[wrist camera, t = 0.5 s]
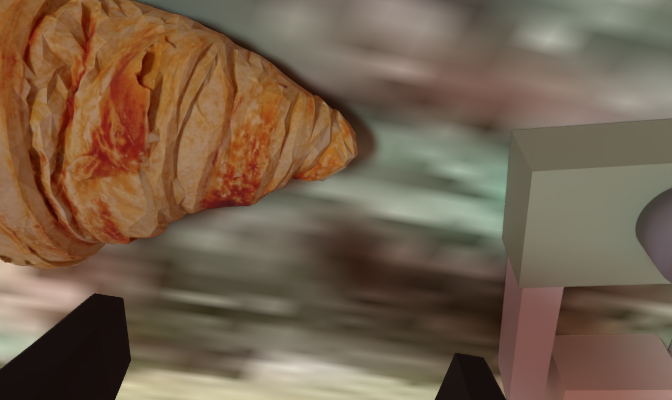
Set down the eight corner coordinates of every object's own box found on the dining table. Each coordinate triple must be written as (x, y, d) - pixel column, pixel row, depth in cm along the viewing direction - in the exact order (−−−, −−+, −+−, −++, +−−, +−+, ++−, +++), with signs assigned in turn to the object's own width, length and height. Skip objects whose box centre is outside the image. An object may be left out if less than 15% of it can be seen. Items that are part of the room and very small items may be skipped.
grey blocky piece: (704, 359, 24) (767, 452, 20) (491, 362, 25) (511, 450, 21) (817, 108, 17) (947, 178, 13) (511, 130, 18) (546, 199, 14)
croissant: (364, 20, 20) (370, -69, 12) (352, 266, 21) (351, 338, 13) (-147, 1, 20) (-469, -94, 12) (-134, 240, 21) (-425, 294, 13)
